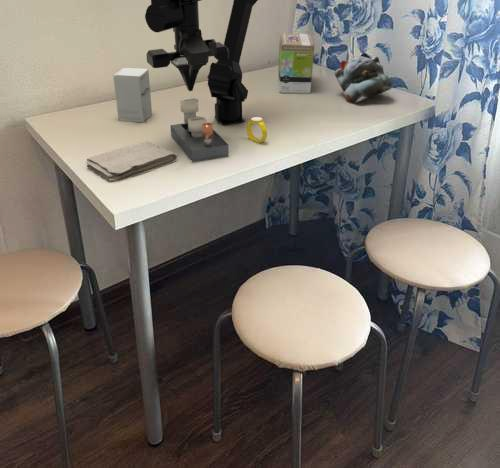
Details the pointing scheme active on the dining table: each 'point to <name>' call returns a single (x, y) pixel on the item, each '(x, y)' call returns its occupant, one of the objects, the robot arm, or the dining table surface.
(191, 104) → the knob
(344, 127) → the dining table surface
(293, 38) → the tea box
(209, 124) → the orange bulb
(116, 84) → the supplement box
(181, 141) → the dark grey tray
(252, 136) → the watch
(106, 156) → the washcloth
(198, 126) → the knob
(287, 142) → the dining table surface
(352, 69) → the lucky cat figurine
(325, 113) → the dining table surface
